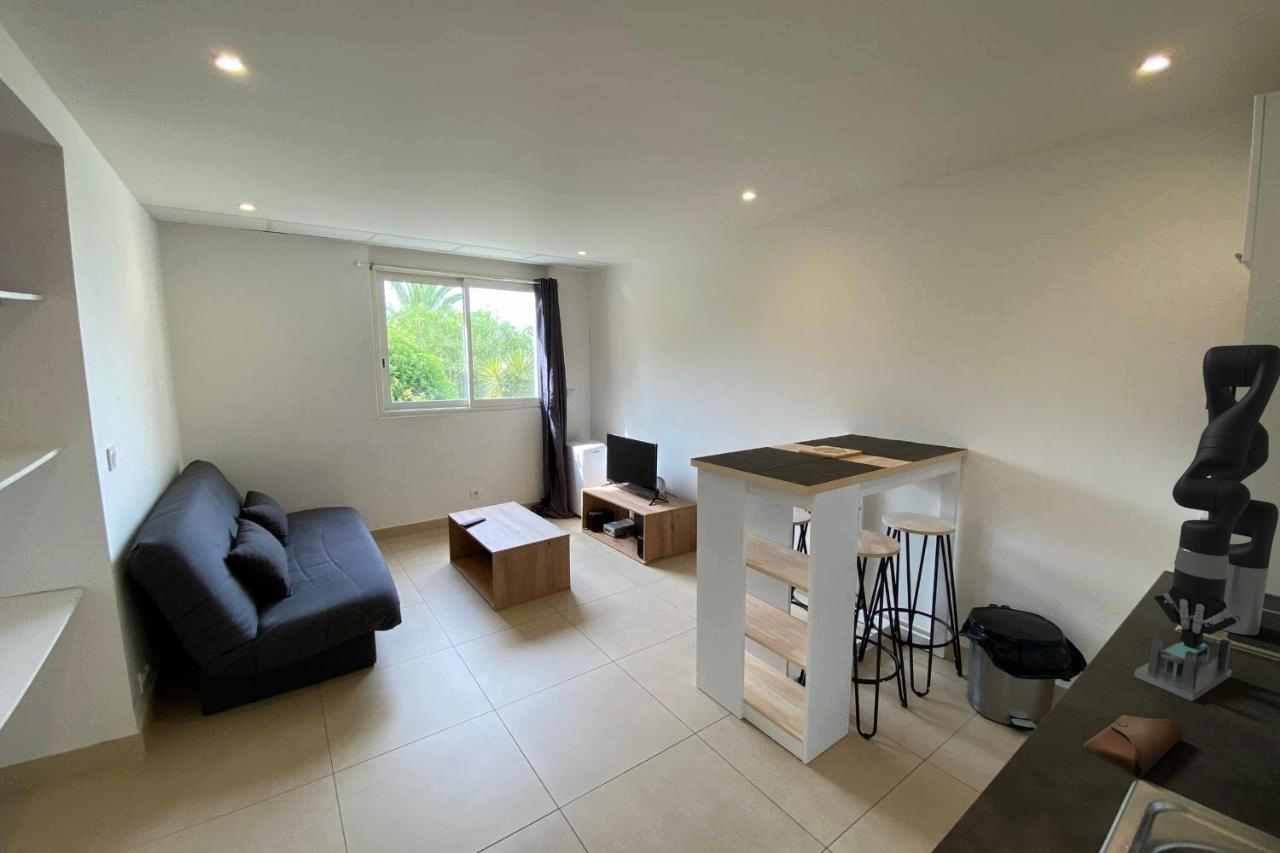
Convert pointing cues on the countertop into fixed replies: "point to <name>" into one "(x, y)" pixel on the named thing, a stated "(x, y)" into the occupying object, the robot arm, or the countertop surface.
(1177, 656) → the teal tile grey cap
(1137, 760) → the sunglasses case
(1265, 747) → the countertop surface
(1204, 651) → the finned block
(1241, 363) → the robot arm
